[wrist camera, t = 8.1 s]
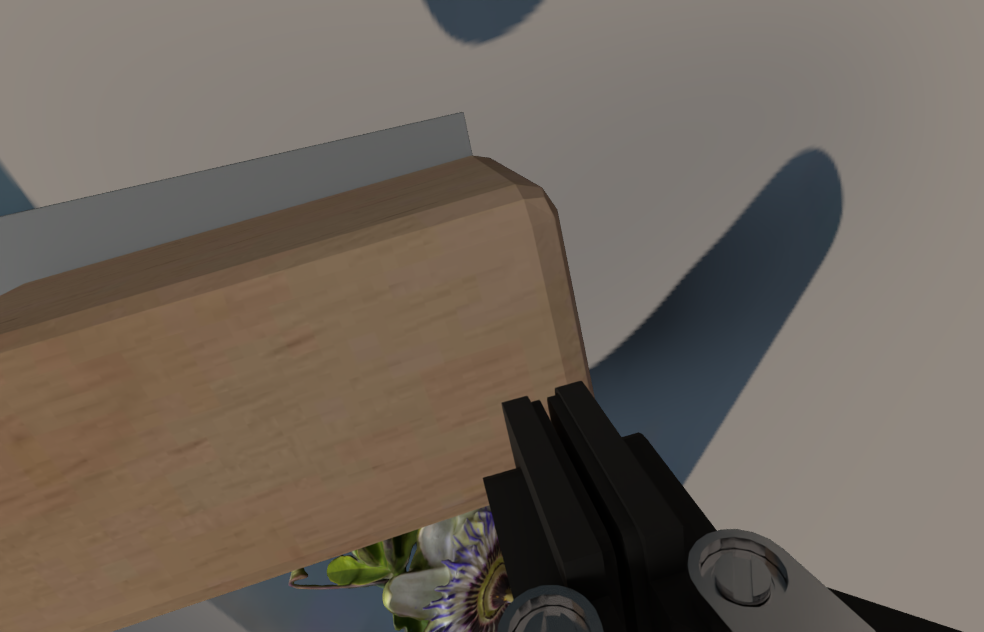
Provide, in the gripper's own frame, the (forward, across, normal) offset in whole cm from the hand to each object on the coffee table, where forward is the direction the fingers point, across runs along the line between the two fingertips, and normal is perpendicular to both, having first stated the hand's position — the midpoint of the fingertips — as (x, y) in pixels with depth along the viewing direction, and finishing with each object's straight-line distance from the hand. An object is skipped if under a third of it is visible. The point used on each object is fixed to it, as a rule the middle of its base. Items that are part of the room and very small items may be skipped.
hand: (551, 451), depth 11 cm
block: (+10, -3, +1) cm, 10 cm away
